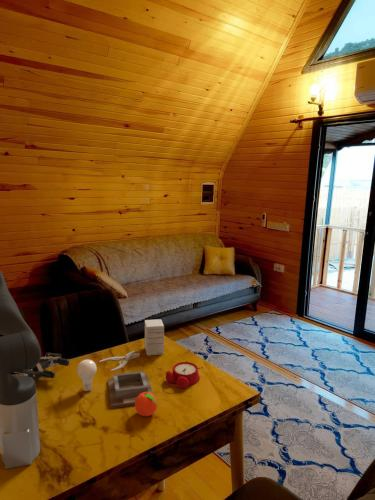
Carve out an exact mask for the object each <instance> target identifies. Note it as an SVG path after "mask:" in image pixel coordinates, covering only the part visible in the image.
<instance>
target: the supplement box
mask: <svg viewBox="0 0 375 500" xmlns="http://www.w3.org/2000/svg"><path fill="white" fill-rule="evenodd" d="M144 348H145V349H144V350H145V353H146V354H145V355H146V356H157V355H158V356H159V355H164V354H165V325H164V323H163V320H162V319H145V320H144Z"/></svg>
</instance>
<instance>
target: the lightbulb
mask: <svg viewBox="0 0 375 500" xmlns="http://www.w3.org/2000/svg"><path fill="white" fill-rule="evenodd" d="M76 373H77V375H78V376H79V378H80V379H81V380H82V381H81V382H82V383H83V385H82V386H83V390H84V391H85V392H89V391H92V388H93V386H92V384H93V383H92V382H93V379H94V376H96V373H97V364H96V362H94V360H92V359H83V360H82V361H81V360H80V362H79V363H78V365H77V367H76Z"/></svg>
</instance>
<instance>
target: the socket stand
mask: <svg viewBox="0 0 375 500" xmlns="http://www.w3.org/2000/svg"><path fill="white" fill-rule="evenodd" d="M107 385H108V393H109V403H110V409H116V408H122V407H124V408H125V407H130V406H135V400H136V398H137V397H138V395H140V394H141V393H143V392H150V393H152V394H153V395H154V392H153V389H152V385H151V382H150V378H149V376H148V374H147V373H145V372H144V370H140V371H134V372H133V371H131V372H130V371H129V372H124V373H115V374H113V377H111V378H108V379H107Z"/></svg>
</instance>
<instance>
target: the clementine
mask: <svg viewBox="0 0 375 500" xmlns="http://www.w3.org/2000/svg"><path fill="white" fill-rule="evenodd" d="M134 408H135V411H136V413H137V414H139V415H140V416H142V417H150V416H152V415H153V414H154V413H155V412H156V411H157V408H158V399H157V397H156V395H155V394H154V393H153V394H152V393H150V392H143V393H141V394H140V395H138V397H137V398H136V400H135V405H134Z"/></svg>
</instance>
